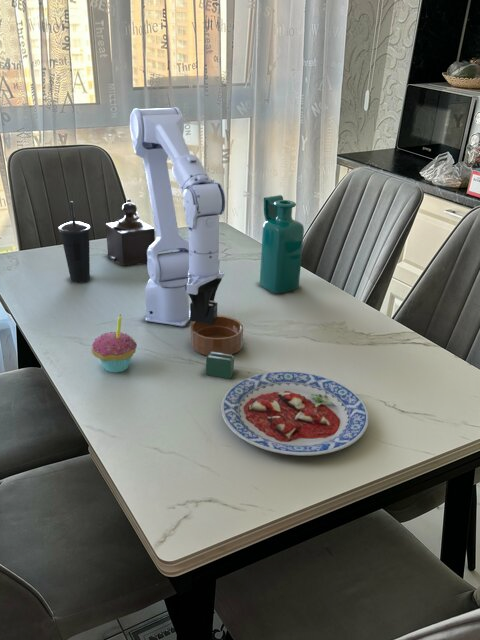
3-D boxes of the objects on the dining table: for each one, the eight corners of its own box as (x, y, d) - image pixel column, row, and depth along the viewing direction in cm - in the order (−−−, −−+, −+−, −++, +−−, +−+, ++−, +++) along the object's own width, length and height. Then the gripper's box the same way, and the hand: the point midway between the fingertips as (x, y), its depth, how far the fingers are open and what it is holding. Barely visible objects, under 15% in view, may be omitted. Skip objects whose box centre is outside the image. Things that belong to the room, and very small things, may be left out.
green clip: (205, 374, 119) (206, 356, 116) (209, 368, 121) (209, 350, 118) (230, 379, 118) (230, 360, 115) (233, 372, 120) (234, 354, 117)
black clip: (190, 321, 123) (189, 302, 121) (194, 316, 125) (194, 297, 123) (213, 324, 122) (213, 305, 119) (217, 319, 124) (217, 300, 121)
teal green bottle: (301, 288, 157) (310, 203, 144) (276, 295, 152) (282, 207, 140) (278, 276, 163) (284, 193, 151) (253, 282, 159) (257, 197, 147)
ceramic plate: (259, 480, 93) (260, 465, 91) (199, 395, 112) (199, 382, 111) (396, 444, 102) (399, 429, 100) (319, 371, 121) (321, 358, 120)
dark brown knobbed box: (104, 256, 172) (98, 191, 162) (139, 249, 178) (135, 186, 168) (129, 273, 162) (125, 205, 152) (165, 266, 167) (163, 200, 157)
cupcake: (144, 361, 122) (141, 307, 116) (124, 381, 116) (120, 325, 109) (107, 353, 125) (101, 299, 118) (85, 373, 118) (78, 317, 111)
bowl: (183, 353, 126) (183, 334, 123) (200, 331, 135) (200, 312, 132) (234, 362, 123) (235, 342, 121) (247, 338, 132) (248, 319, 130)
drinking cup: (101, 277, 159) (94, 200, 148) (80, 287, 153) (71, 207, 142) (80, 271, 162) (71, 195, 151) (59, 280, 156) (48, 201, 145)
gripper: (212, 264, 108) (211, 332, 116) (234, 240, 120) (232, 302, 128) (175, 259, 110) (177, 326, 117) (200, 235, 122) (200, 298, 129)
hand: (203, 314), depth 123 cm, fingers closed on black clip, 2 cm apart
